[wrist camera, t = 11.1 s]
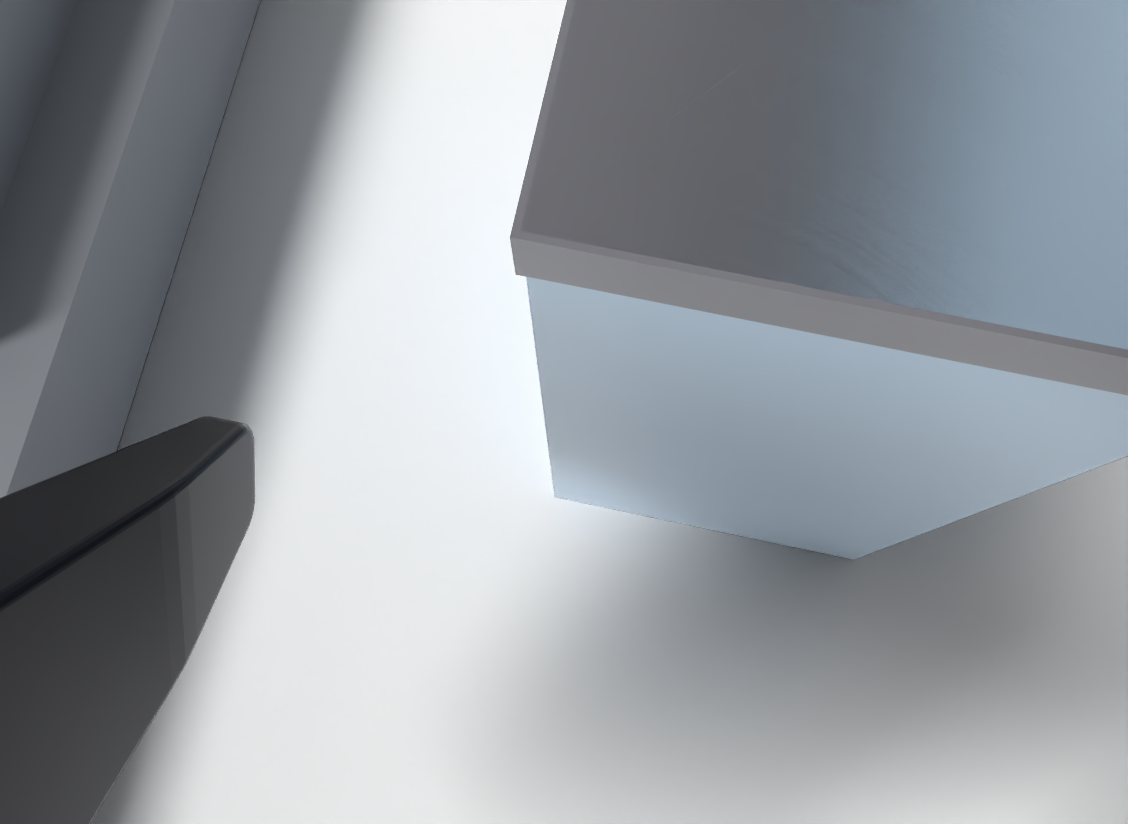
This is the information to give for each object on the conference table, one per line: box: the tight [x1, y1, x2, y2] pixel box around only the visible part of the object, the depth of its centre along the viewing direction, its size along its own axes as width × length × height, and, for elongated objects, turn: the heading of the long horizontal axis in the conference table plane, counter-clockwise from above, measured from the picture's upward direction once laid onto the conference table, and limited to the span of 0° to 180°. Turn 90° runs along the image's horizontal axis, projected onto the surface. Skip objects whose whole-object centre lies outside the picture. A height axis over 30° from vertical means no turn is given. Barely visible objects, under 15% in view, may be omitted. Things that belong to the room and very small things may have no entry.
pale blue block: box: [510, 0, 1128, 560], centre depth 11 cm, size 5×6×10 cm
